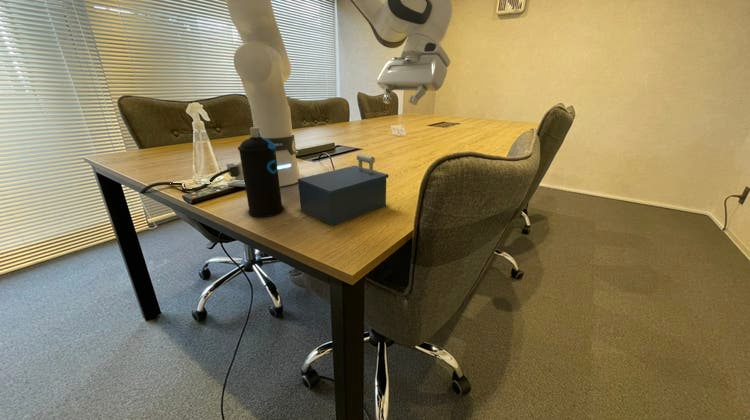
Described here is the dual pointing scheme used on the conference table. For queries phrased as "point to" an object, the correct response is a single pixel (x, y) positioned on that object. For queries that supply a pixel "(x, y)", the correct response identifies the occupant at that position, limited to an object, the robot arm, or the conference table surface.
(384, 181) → the box
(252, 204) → the aerosol can
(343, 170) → the lid
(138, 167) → the conference table surface
